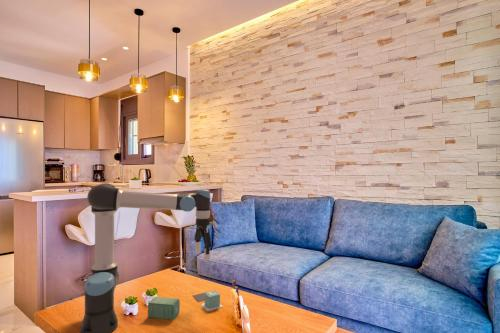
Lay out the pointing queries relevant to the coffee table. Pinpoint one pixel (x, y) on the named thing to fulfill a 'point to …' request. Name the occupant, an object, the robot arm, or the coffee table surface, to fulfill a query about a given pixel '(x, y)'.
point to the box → (163, 308)
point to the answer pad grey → (210, 308)
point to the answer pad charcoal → (200, 297)
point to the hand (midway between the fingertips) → (202, 256)
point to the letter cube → (212, 299)
